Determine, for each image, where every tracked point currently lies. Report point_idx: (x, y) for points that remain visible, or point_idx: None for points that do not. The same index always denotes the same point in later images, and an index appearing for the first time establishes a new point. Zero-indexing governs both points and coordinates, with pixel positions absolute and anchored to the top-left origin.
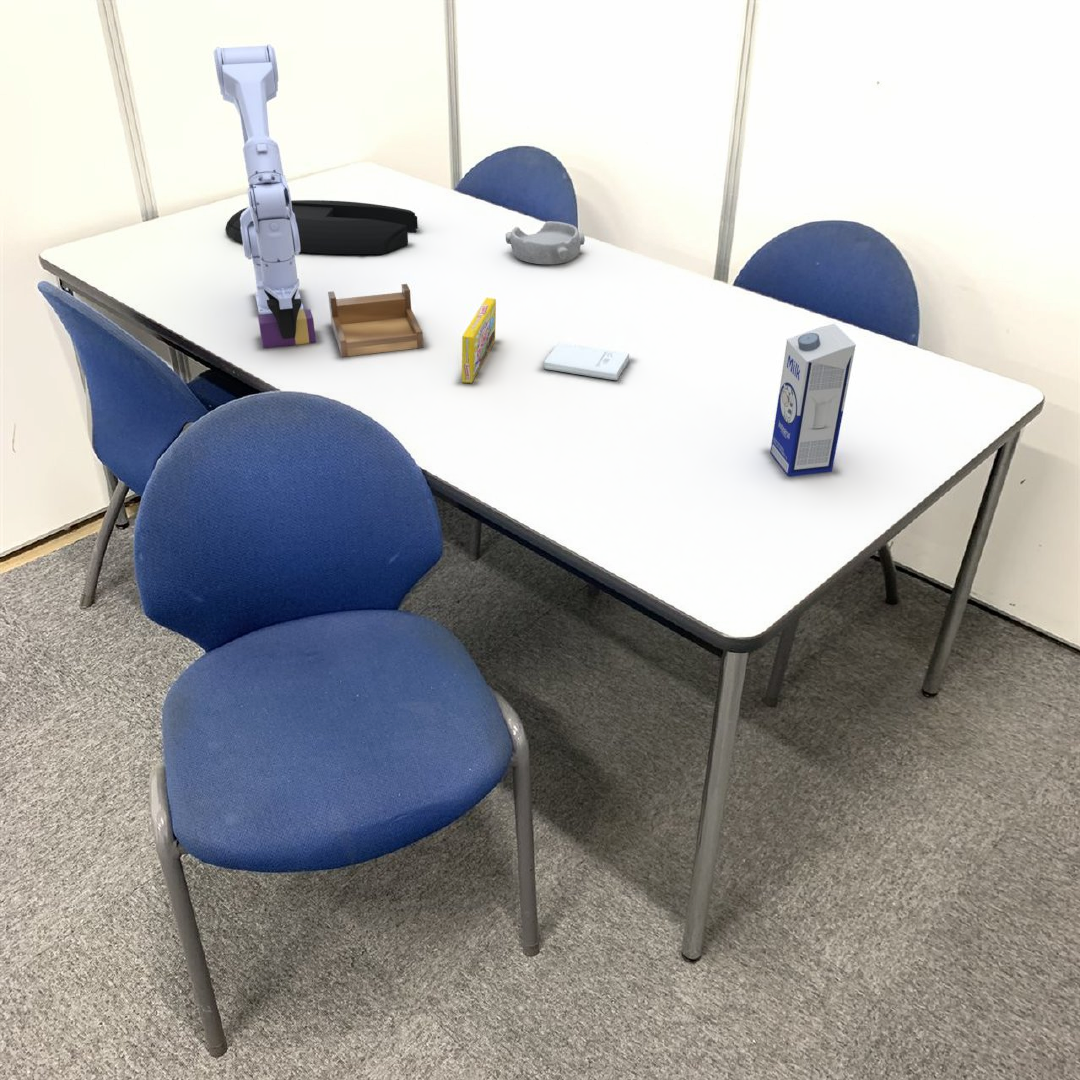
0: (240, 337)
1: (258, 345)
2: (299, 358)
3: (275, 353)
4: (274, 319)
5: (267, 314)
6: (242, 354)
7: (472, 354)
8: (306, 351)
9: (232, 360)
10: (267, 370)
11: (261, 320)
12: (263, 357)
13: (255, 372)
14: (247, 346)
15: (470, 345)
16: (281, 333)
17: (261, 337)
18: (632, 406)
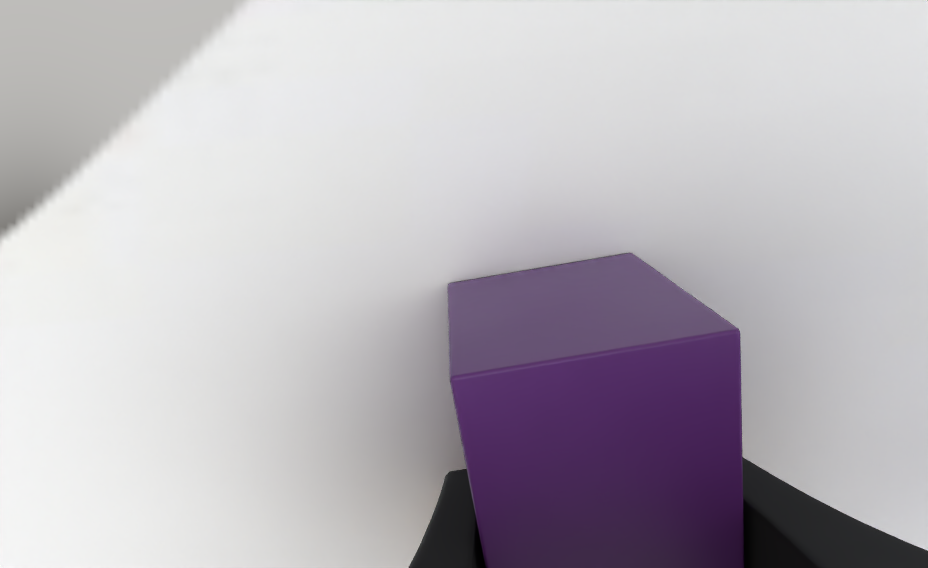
0: (701, 68)
1: (512, 239)
2: (267, 531)
3: (354, 377)
4: (558, 521)
5: (720, 438)
6: (348, 121)
7: None
8: (375, 563)
9: (227, 41)
10: (57, 346)
11: (558, 389)
12: (286, 297)
13: (11, 261)
14: (504, 150)
15: None
16: (439, 502)
17: (475, 306)
18: None
